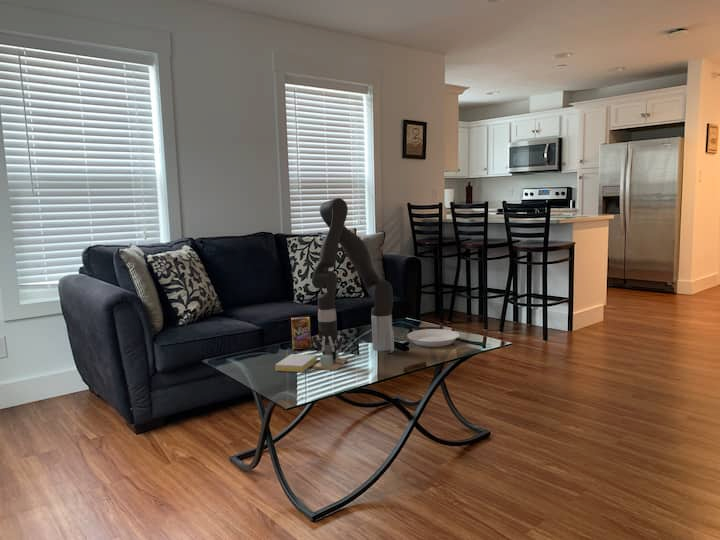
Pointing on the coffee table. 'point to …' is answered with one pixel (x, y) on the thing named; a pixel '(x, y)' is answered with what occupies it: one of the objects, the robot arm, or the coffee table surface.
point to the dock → (296, 363)
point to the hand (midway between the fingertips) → (329, 359)
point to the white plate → (433, 337)
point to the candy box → (301, 332)
